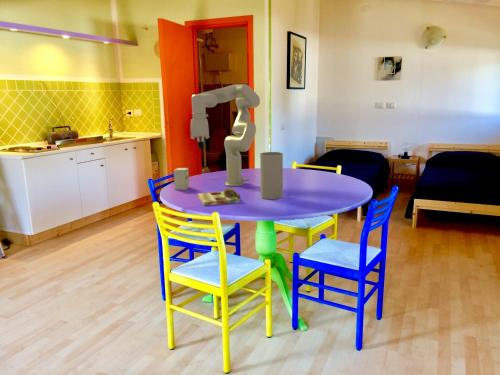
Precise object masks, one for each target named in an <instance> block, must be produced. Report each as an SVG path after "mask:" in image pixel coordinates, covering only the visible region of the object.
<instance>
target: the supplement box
mask: <svg viewBox="0 0 500 375" xmlns="http://www.w3.org/2000/svg"><path fill="white" fill-rule="evenodd" d="M189 175H190V174H189V167H177V168H175V169H174V170H173V179H174V180H173V182H174V183H173V184H174V190H178V191H179V190H181V191H186V190H187V189H189V188H190V176H189Z"/></svg>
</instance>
